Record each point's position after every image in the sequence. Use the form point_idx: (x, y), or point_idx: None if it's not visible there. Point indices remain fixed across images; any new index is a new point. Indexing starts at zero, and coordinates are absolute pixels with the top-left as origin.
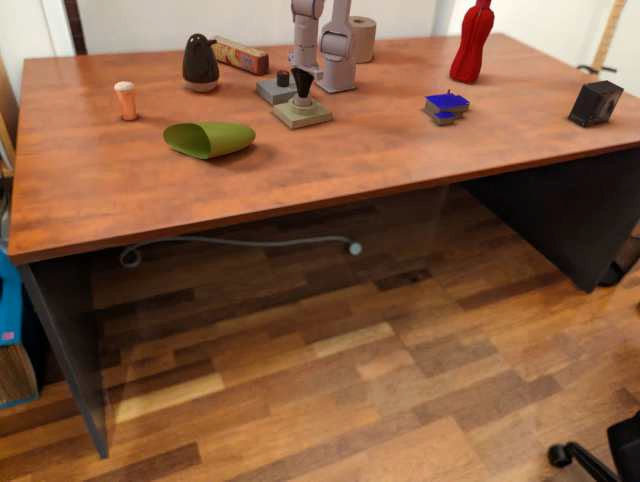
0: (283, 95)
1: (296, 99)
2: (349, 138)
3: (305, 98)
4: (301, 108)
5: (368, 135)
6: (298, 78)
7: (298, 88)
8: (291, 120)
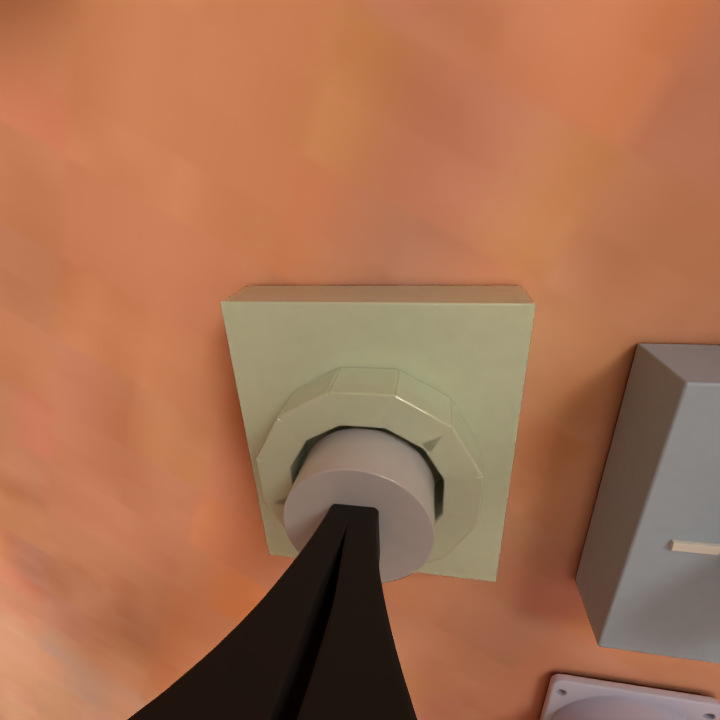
0: (645, 464)
1: (336, 465)
2: (99, 482)
3: (314, 526)
4: (273, 433)
5: (115, 552)
6: (210, 710)
7: (340, 570)
8: (231, 302)
